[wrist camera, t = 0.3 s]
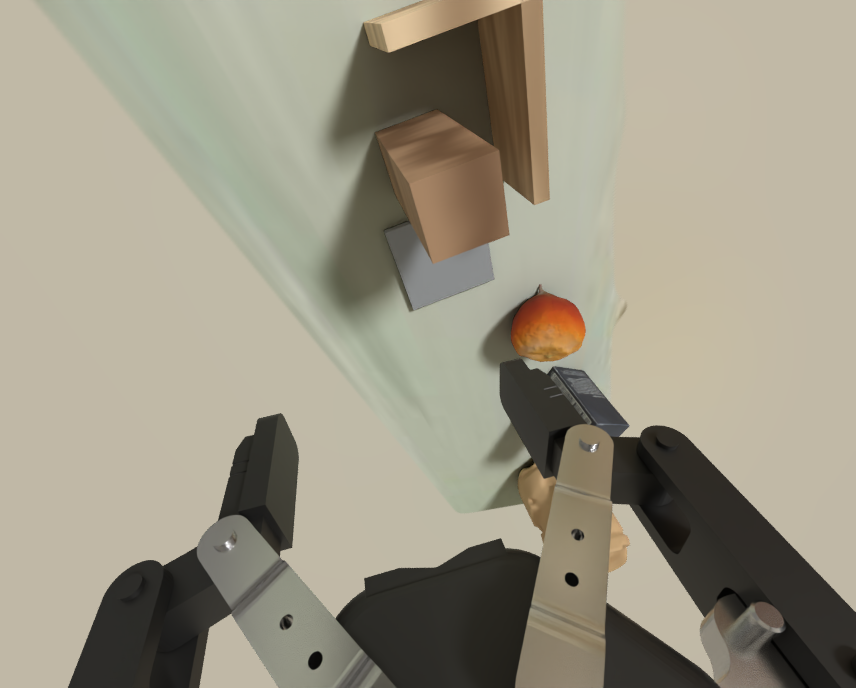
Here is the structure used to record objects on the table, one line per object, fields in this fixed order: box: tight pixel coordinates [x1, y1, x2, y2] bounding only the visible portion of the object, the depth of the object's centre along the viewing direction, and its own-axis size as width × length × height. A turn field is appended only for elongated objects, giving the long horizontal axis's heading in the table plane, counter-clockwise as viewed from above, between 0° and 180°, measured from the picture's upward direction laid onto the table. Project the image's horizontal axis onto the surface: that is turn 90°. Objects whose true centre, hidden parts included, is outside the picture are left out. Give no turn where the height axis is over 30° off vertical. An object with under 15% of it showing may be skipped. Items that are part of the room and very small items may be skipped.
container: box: [518, 463, 630, 573], centre depth 64 cm, size 13×13×18 cm
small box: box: [548, 367, 629, 437], centre depth 52 cm, size 11×6×10 cm, turn 158°
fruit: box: [511, 284, 586, 362], centre depth 42 cm, size 8×8×8 cm
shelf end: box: [364, 0, 550, 205], centre depth 26 cm, size 9×13×7 cm
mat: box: [384, 221, 494, 310], centre depth 36 cm, size 9×9×1 cm
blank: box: [375, 109, 509, 264], centre depth 26 cm, size 5×5×12 cm
